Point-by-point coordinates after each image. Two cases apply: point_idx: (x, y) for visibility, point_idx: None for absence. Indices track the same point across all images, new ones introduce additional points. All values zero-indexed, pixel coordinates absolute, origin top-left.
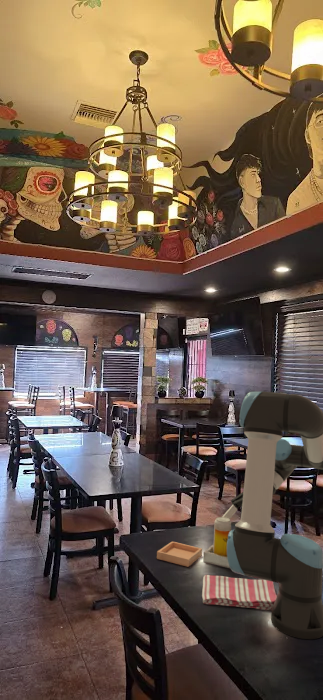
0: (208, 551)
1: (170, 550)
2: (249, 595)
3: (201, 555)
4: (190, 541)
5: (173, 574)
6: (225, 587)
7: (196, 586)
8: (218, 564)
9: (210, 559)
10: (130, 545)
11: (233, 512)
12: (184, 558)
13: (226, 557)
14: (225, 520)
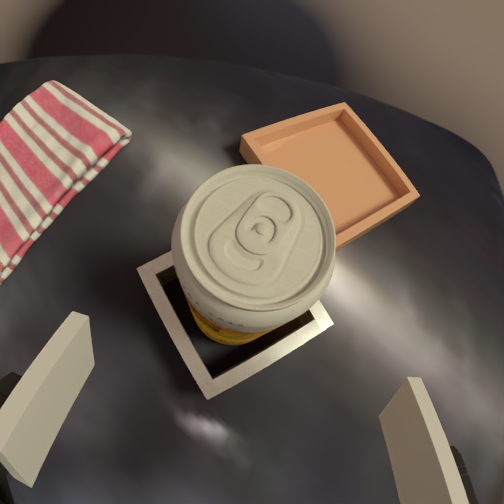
0: None
1: (374, 171)
2: None
3: None
4: (444, 311)
5: (214, 93)
6: (48, 154)
7: (117, 105)
8: None
9: None
10: (434, 125)
11: (407, 490)
12: (258, 130)
13: (152, 260)
14: (236, 248)
